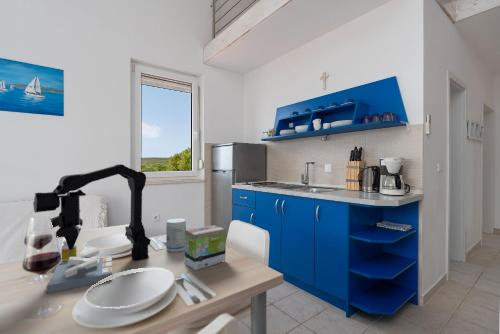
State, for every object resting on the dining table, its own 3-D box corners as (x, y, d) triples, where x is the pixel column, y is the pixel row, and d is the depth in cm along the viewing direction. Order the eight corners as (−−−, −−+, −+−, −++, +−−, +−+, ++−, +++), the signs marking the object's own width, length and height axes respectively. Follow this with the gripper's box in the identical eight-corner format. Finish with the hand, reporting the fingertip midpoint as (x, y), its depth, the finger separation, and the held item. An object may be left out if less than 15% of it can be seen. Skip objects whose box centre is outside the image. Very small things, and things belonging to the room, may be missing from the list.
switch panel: (111, 262, 108) (111, 249, 108) (112, 279, 91) (112, 264, 91) (57, 271, 98) (57, 257, 98) (47, 293, 82) (46, 276, 82)
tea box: (195, 271, 98) (195, 234, 98) (184, 264, 106) (184, 229, 105) (226, 261, 108) (226, 228, 108) (213, 255, 116) (213, 224, 115)
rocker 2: (97, 263, 99) (99, 258, 99) (97, 266, 96) (99, 261, 96) (68, 261, 94) (69, 256, 94) (66, 264, 91) (68, 259, 91)
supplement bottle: (68, 264, 106) (68, 242, 105) (58, 263, 107) (57, 241, 107) (79, 259, 111) (79, 238, 111) (69, 259, 112) (69, 237, 112)
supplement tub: (163, 248, 125) (163, 219, 125) (181, 244, 131) (181, 217, 131) (170, 254, 117) (170, 223, 117) (189, 249, 123) (188, 220, 123)
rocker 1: (99, 251, 104) (98, 247, 104) (99, 254, 101) (97, 250, 101) (72, 262, 99) (70, 258, 99) (70, 265, 96) (69, 261, 96)
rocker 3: (98, 261, 94) (97, 256, 93) (98, 264, 91) (96, 260, 90) (67, 273, 89) (65, 269, 89) (66, 277, 86) (64, 273, 86)
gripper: (48, 206, 97) (49, 246, 97) (36, 215, 81) (37, 262, 81) (82, 204, 102) (83, 241, 102) (77, 211, 86) (78, 255, 86)
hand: (70, 249), depth 93 cm, fingers closed
